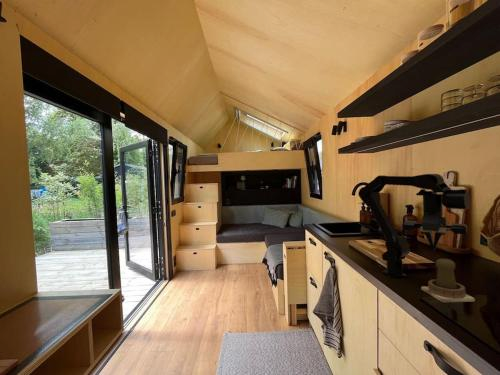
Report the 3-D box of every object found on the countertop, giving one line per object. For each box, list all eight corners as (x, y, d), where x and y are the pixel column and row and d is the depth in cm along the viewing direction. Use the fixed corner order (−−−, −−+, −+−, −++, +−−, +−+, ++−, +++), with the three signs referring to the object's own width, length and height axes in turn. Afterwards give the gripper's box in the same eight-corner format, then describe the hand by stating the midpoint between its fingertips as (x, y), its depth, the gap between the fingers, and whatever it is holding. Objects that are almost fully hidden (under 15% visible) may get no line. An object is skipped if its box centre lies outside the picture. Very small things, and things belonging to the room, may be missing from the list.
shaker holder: (421, 289, 89) (421, 279, 89) (449, 288, 89) (449, 278, 89) (442, 302, 79) (442, 291, 79) (474, 301, 79) (474, 290, 79)
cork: (430, 288, 87) (429, 257, 87) (447, 287, 87) (446, 256, 87) (445, 296, 81) (443, 262, 81) (462, 295, 81) (461, 261, 81)
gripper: (398, 209, 92) (399, 251, 92) (465, 211, 79) (466, 260, 80) (405, 206, 100) (406, 245, 101) (466, 208, 88) (467, 252, 88)
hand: (433, 250), depth 92 cm, fingers closed
